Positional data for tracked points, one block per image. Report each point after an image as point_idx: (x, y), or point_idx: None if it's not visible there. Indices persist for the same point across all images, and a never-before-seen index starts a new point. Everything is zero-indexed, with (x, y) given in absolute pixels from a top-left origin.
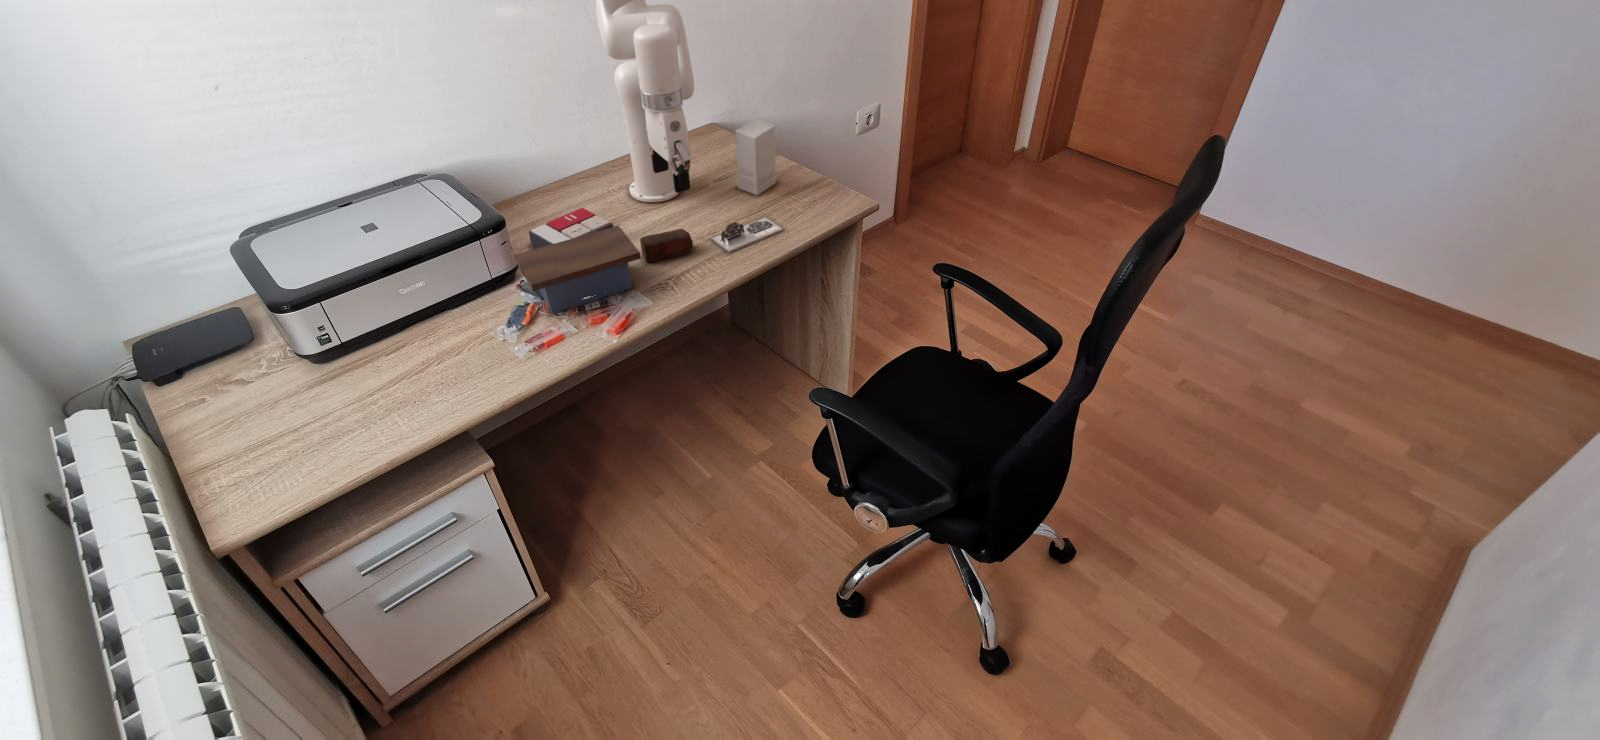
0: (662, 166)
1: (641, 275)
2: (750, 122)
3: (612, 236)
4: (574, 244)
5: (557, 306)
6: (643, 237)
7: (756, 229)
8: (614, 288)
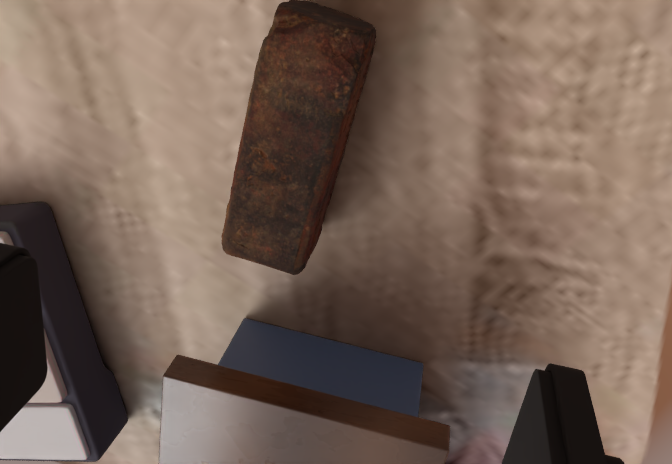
0: (5, 344)
1: (373, 294)
2: None
3: (237, 442)
4: None
5: None
6: (230, 243)
7: None
8: None
